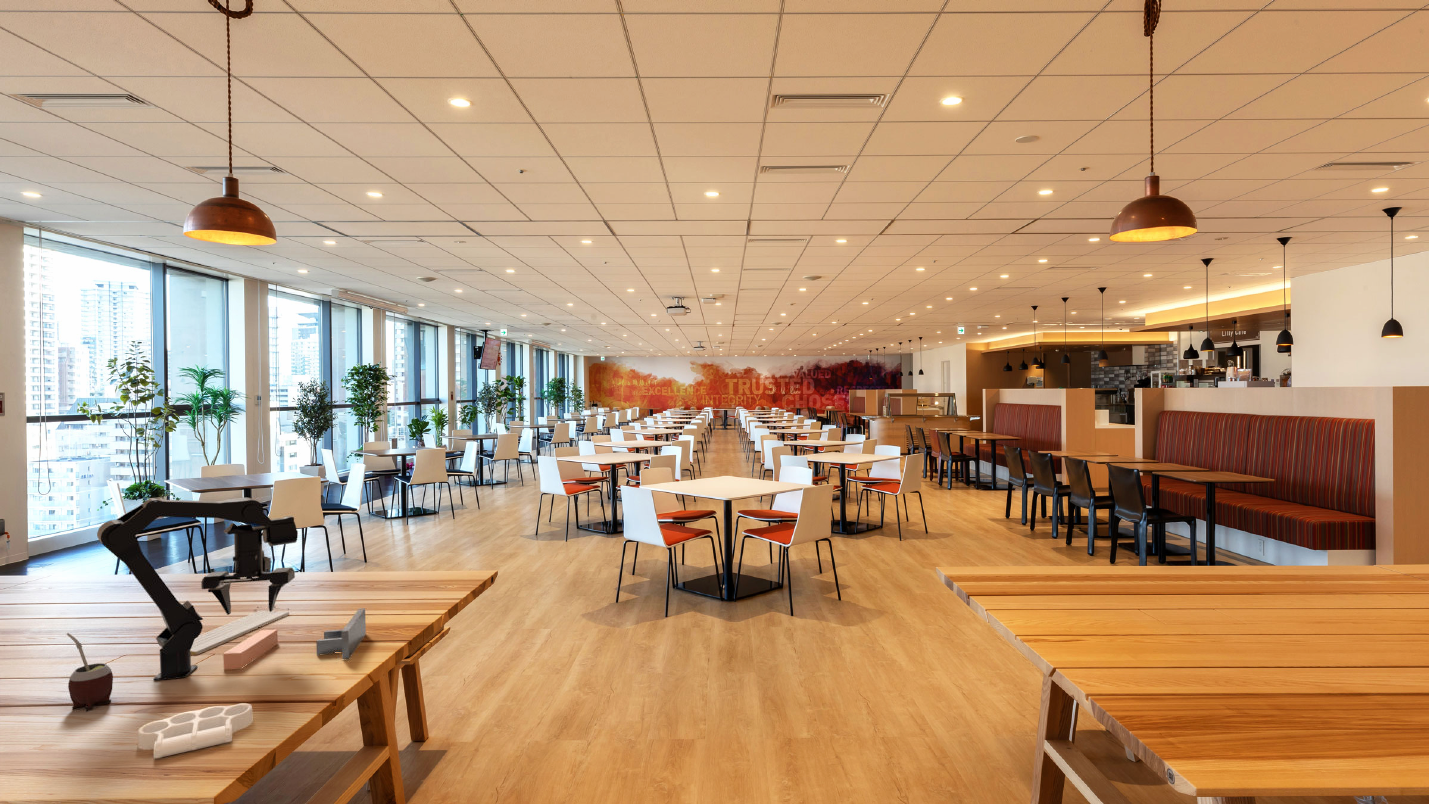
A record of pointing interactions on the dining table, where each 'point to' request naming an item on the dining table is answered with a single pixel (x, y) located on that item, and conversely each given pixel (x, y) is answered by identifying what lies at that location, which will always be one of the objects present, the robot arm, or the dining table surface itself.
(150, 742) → the knuckle duster
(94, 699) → the mate gourd
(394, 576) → the dining table surface
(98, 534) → the robot arm
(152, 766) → the dining table surface
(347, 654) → the bracket
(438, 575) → the dining table surface
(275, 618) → the baseboard
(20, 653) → the dining table surface
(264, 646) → the rail
